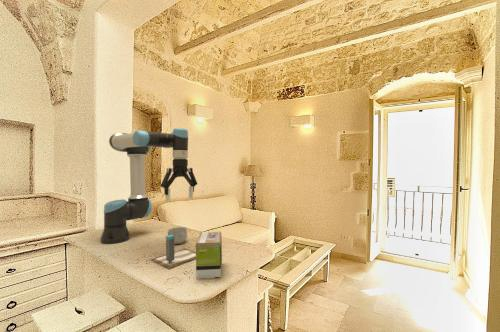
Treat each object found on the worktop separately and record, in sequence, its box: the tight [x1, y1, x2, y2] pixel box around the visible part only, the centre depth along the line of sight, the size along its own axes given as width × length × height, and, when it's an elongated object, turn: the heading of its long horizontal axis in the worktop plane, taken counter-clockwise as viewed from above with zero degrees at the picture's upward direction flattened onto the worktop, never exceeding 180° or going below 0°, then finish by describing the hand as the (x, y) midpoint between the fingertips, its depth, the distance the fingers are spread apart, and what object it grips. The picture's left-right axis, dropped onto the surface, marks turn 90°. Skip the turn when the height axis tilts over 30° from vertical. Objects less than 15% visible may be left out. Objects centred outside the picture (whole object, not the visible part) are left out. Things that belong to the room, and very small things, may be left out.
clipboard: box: [150, 247, 196, 270], centre depth 115 cm, size 16×19×1 cm
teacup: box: [167, 225, 188, 245], centre depth 140 cm, size 14×11×8 cm
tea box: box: [195, 231, 223, 280], centre depth 102 cm, size 15×10×15 cm
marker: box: [165, 234, 175, 263], centre depth 108 cm, size 3×3×12 cm
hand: (179, 199), depth 123 cm, fingers open, 13 cm apart
